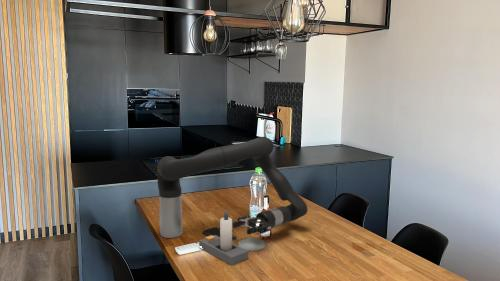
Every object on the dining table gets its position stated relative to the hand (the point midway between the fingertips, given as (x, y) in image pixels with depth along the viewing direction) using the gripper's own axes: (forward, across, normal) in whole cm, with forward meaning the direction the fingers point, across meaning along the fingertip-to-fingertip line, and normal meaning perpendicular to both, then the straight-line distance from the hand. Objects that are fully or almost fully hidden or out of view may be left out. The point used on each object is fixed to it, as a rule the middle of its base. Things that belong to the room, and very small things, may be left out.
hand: (240, 228), depth 153 cm
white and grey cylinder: (+7, 0, +8) cm, 11 cm away
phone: (-2, -16, +9) cm, 18 cm away
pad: (-6, 0, +8) cm, 10 cm away
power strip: (+7, -2, +8) cm, 11 cm away
